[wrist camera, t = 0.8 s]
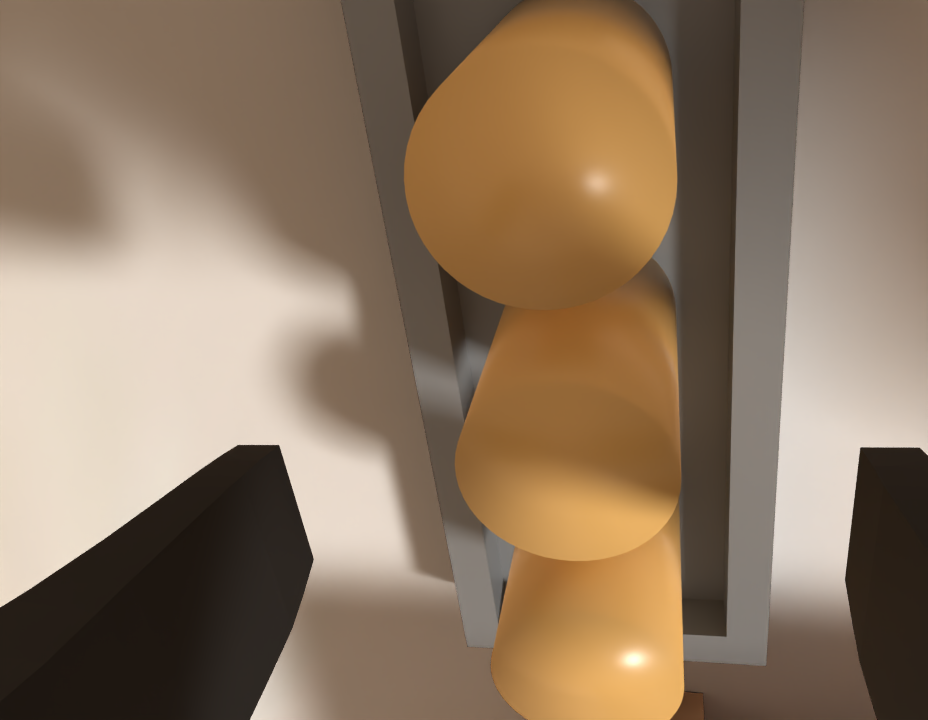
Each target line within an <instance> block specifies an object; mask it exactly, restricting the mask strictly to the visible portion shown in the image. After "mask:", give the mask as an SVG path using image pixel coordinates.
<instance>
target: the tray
mask: <svg viewBox="0 0 928 720" xmlns="http://www.w3.org/2000/svg"><path fill="white" fill-rule="evenodd" d="M341 4H342V9H343V14H344V19H345V24H346V29H347V34H348V39H349V44H350V49H351V55H352V60H353V65H354V70H355V75H356V80H357V85H358V90H359V95H360V101H361V106H362V111H363V116H364V121H365V126H366V131H367V136H368V141H369V147H370V152H371V157H372V162H373V167H374V172H375V177H376V182H377V187H378V192H379V198H380V203H381V208H382V213H383V218H384V223H385V228H386V233H387V238H388V244H389V249H390V254H391V259H392V264H393V269H394V274H395V279H396V284H397V290H398V295H399V300H400V305H401V310H402V315H403V320H404V325H405V330H406V336H407V341H408V346H409V351H410V356H411V361H412V366H413V371H414V376H415V381H416V387H417V392H418V397H419V402H420V407H421V412H422V417H423V422H424V427H425V433H426V438H427V443H428V448H429V453H430V458H431V463H432V468H433V473H434V479H435V484H436V489H437V494H438V499H439V504H440V509H441V514H442V519H443V525H444V530H445V535H446V540H447V545H448V550H449V555H450V560H451V565H452V570H453V576H454V581H455V586H456V591H457V596H458V601H459V606H460V611H461V616H462V622H463V627H464V632H465V637H466V642H467V647H482V648H493V652H492V656H491V674H492V677H493V681H494V683H495V686H496V688H497V690H498V691H499V693H500V694H501V696H502V697H503V699H504V700H505V701H506V702H507V703H508V704H509V705H510V706H511V707H512V708H513V709H514V710H515V711H516V712H517V713H519V714H520V715H521V716H523V717H524V718H525V719H527V720H670V719H671V718H672V717H673V715H674V714H675V713H676V712H677V710H678V708H679V706H680V704H681V702H682V699H683V695H684V662H683V661H696V662H711V663H727V664H742V665H757V666H766V661H767V644H768V626H769V609H770V591H771V573H772V556H773V538H774V521H775V503H776V486H777V468H778V451H779V433H780V416H781V398H782V380H783V363H784V345H785V328H786V310H787V293H788V275H789V258H790V240H791V223H792V205H793V187H794V170H795V152H796V135H797V117H798V100H799V82H800V65H801V47H802V30H803V12H804V0H341Z"/></svg>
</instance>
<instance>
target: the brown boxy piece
mask: <svg viewBox="0 0 928 720" xmlns="http://www.w3.org/2000/svg"><path fill="white" fill-rule="evenodd" d="M670 720H704V706H703V693H690V692H684V695H683V699H682V702H681V704H680V706H679V708H678V710H677V712H676V713H675V714H674V715H673V717H672V718H671V719H670Z"/></svg>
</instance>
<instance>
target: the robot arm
mask: <svg viewBox="0 0 928 720" xmlns="http://www.w3.org/2000/svg"><path fill="white" fill-rule="evenodd" d="M313 560H314V559H313V555H312V552H311V549H310V545H309V542H308V539H307V535H306V532H305V529H304V526H303V522H302V519H301V516H300V512H299V509H298V506H297V503H296V499H295V496H294V493H293V489H292V486H291V483H290V479H289V476H288V473H287V470H286V466H285V463H284V460H283V456H282V453H281V450H280V447H279V445H237V446H236V447H234V448H233V449H231V450H229V451H228V452H226V453H224V454H223V455H221V456H220V457H218V458H217V459H215V460H214V461H212V462H211V463H210V464H208V465H207V466H205V467H204V468H202V469H201V470H200V471H198V472H197V473H195V474H194V475H192V476H191V477H190V478H188V479H187V480H186V481H184V482H183V483H181V484H180V485H179V486H177V487H176V488H175V489H173V490H172V491H170V492H169V493H168V494H166V495H165V496H164V497H162V498H161V499H159V500H158V501H157V502H155V503H154V504H152V505H151V506H150V507H148V508H147V509H146V510H144V511H143V512H141V513H140V514H139V515H137V516H136V517H134V518H133V519H132V520H130V521H129V522H128V523H126V524H125V525H123V526H122V527H121V528H119V529H118V530H116V531H115V532H114V533H112V534H111V535H110V536H108V537H107V538H105V539H104V540H102V541H101V542H99V543H98V544H96V545H95V546H94V547H92V548H91V549H89V550H88V551H86V552H85V553H83V554H82V555H80V556H79V557H77V558H76V559H74V560H73V561H71V562H70V563H68V564H67V565H65V566H64V567H62V568H61V569H59V570H58V571H56V572H55V573H53V574H52V575H50V576H49V577H47V578H46V579H44V580H43V581H41V582H40V583H38V584H37V585H35V586H34V587H33V588H31V589H29V590H28V591H26V592H25V593H23V594H21V595H20V596H18V597H17V598H15V599H14V600H12V601H10V602H9V603H7V604H5V605H4V606H2V607H0V720H250V718H251V716H252V714H253V712H254V710H255V708H256V706H257V703H258V701H259V699H260V697H261V695H262V693H263V691H264V689H265V687H266V684H267V682H268V680H269V678H270V676H271V674H272V671H273V669H274V667H275V665H276V663H277V661H278V658H279V656H280V654H281V652H282V650H283V648H284V645H285V643H286V641H287V639H288V637H289V634H290V632H291V630H292V628H293V625H294V622H295V618H296V615H297V612H298V609H299V606H300V603H301V600H302V597H303V594H304V591H305V587H306V584H307V581H308V577H309V574H310V570H311V567H312V563H313ZM845 582H846V588H847V594H848V600H849V606H850V612H851V618H852V624H853V629H854V634H855V640H856V645H857V650H858V656H859V661H860V665H861V668H862V671H863V675H864V678H865V681H866V685H867V688H868V691H869V695H870V698H871V701H872V704H873V708H874V711H875V714H876V718H877V720H928V455H927V454H926V453H925V452H923V451H922V450H921V449H920V448H867V447H860V456H859V464H858V473H857V482H856V490H855V499H854V507H853V516H852V525H851V533H850V542H849V551H848V559H847V568H846V576H845Z"/></svg>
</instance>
